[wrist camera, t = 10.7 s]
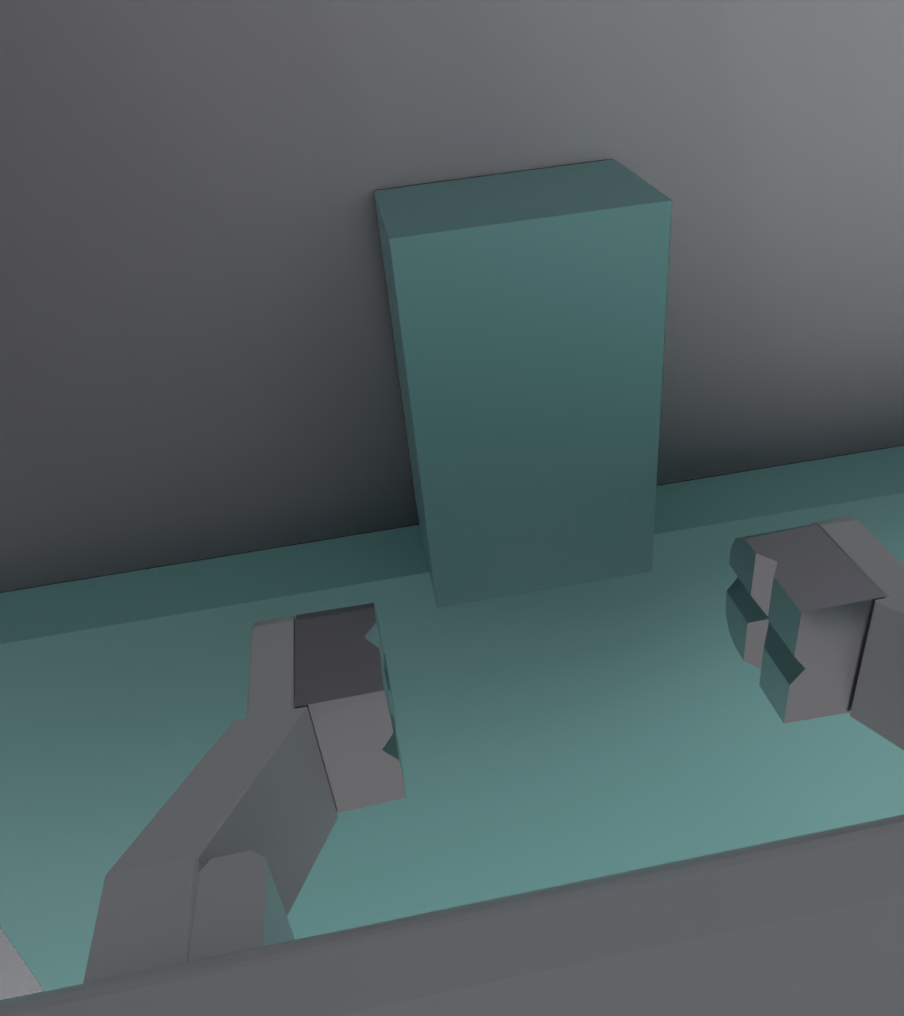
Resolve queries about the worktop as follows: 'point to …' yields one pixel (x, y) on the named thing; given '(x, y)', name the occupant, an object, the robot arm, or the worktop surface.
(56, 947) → the lid
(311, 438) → the worktop surface
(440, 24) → the worktop surface
